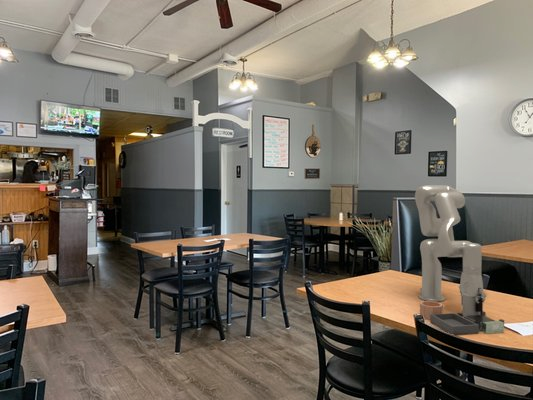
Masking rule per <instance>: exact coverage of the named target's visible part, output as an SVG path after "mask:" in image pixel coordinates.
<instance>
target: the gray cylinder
mask: <svg viewBox="0 0 533 400" xmlns="http://www.w3.org/2000/svg"><path fill="white" fill-rule="evenodd" d="M467 293H468V292H466V291H465V292H464V293H462V297H461V311H462V312H461V313H463V317H464V316H470V315H480V312H476V311H475V303H477V302H476V300H475V298H474V297H470V296H469V295H468V294H467ZM477 296H478V295H477ZM478 300H479V298H478Z"/></svg>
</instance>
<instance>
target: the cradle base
mask: <svg viewBox="0 0 533 400" xmlns="http://www.w3.org/2000/svg"><path fill="white" fill-rule="evenodd" d="M457 314H458V315H460V316H462V317H464V315H463V313H462V312H457ZM480 315H484V316H486V311H484V310H483V311H482V312H480ZM475 323H476V324H478V325H479V333H480V332H482V333H483V334H487V335H489V334H500V333H501V334H503V333H505V320H504V319H501V318H500V319H498V320H495V321H489V322H482V328H480V322H479V321H475Z"/></svg>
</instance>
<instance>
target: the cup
mask: <svg viewBox="0 0 533 400" xmlns="http://www.w3.org/2000/svg"><path fill="white" fill-rule="evenodd" d="M443 306H444V305H443V303H440V302H433V301H426V300H422V301H421V302H419V315H420V314H422V315H423V316H424V318H425V319H424V318H423V319H424V320H429V321H430V314H443V313H444V311H443V310H444V309H443V308H444V307H443Z"/></svg>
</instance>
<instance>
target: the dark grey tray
mask: <svg viewBox="0 0 533 400" xmlns="http://www.w3.org/2000/svg"><path fill="white" fill-rule="evenodd" d="M429 322H430V323H431V324H432V325H434V326H435V327H438V328H439V329H441V330H443V331H444V332H446V333H448V332H449V333H451V334H454V335H453V336H463V335H477V334H479V333H480V332H479V325H478V324H476V323H474V322H472V321H470V320H468V319H466V318H464V316H463V317H462V316H460V315H458V313H455V312H446V313H445V312H443V314H430V320H429ZM449 333H448V334H449ZM451 334H450V335H451Z"/></svg>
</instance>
